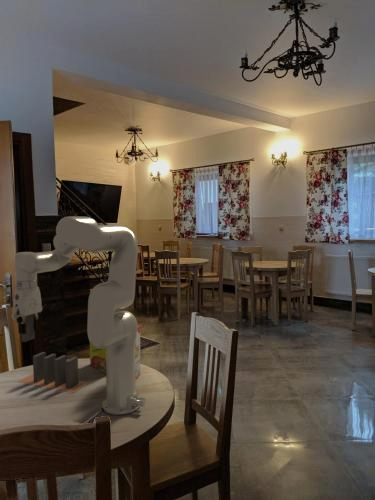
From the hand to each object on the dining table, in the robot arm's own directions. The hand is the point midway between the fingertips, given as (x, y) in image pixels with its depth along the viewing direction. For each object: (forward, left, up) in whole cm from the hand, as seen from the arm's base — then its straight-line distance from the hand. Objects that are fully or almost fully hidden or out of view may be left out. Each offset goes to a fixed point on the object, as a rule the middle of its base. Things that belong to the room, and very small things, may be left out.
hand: (28, 331), depth 147 cm
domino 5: (-20, 0, -18) cm, 27 cm away
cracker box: (-37, -11, -20) cm, 44 cm away
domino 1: (0, 0, -3) cm, 3 cm away
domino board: (-11, 0, -19) cm, 22 cm away
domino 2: (-5, 0, -18) cm, 19 cm away
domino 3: (-10, 0, -18) cm, 21 cm away
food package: (-20, -17, -20) cm, 33 cm away
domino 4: (-15, 0, -18) cm, 24 cm away
